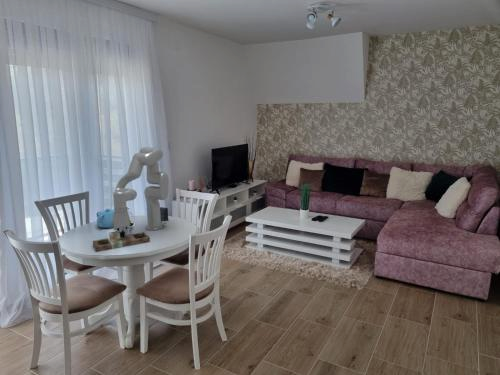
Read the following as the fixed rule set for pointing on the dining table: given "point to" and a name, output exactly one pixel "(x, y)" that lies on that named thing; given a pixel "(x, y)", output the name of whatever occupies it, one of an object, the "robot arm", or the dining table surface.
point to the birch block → (114, 236)
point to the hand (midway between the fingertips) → (122, 237)
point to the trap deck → (121, 241)
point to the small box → (164, 214)
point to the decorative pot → (105, 218)
